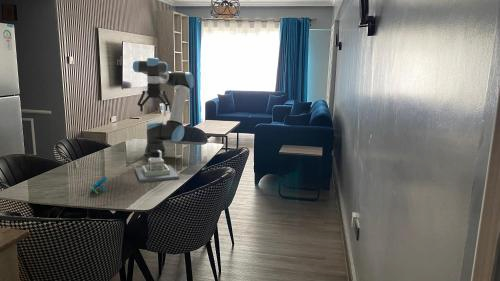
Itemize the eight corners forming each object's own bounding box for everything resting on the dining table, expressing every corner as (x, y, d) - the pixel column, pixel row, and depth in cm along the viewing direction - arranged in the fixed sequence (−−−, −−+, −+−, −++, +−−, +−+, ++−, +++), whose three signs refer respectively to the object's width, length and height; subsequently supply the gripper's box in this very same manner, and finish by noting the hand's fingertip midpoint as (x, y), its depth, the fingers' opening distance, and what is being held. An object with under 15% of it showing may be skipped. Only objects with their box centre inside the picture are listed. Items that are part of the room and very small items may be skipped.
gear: (99, 183, 202) (108, 173, 197) (106, 192, 202) (116, 181, 197) (84, 192, 192) (93, 182, 187) (92, 201, 192) (101, 190, 187)
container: (151, 174, 223) (150, 152, 220) (148, 170, 229) (148, 149, 227) (164, 172, 226) (164, 151, 223) (161, 169, 233) (161, 148, 230)
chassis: (134, 169, 235) (134, 163, 235) (170, 167, 244) (170, 161, 243) (139, 182, 212) (139, 175, 211) (179, 178, 220) (179, 172, 220)
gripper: (133, 83, 231) (134, 117, 235) (174, 83, 241) (174, 116, 245) (132, 82, 238) (133, 116, 242) (172, 82, 248) (172, 115, 252)
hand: (154, 116), depth 244 cm, fingers open, 13 cm apart
